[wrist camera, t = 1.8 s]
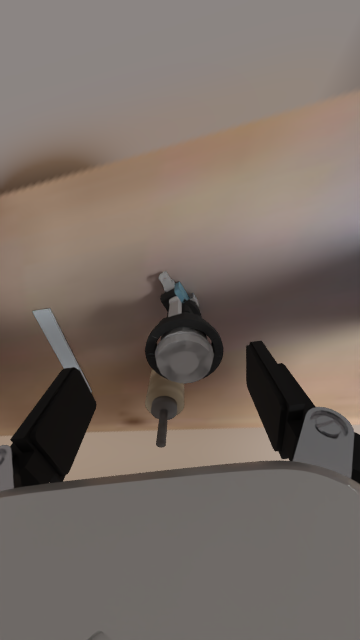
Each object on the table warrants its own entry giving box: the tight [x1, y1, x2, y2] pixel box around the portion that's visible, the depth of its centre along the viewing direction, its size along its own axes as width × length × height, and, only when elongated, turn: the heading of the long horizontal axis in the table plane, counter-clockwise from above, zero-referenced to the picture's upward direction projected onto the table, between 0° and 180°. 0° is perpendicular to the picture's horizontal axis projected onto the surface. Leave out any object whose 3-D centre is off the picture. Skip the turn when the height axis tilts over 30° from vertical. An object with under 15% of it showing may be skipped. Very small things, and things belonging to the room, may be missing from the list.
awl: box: [145, 369, 184, 447], centre depth 21 cm, size 4×4×10 cm
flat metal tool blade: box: [32, 308, 92, 393], centre depth 25 cm, size 2×13×1 cm, turn 9°
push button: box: [145, 271, 223, 384], centre depth 17 cm, size 7×5×10 cm
